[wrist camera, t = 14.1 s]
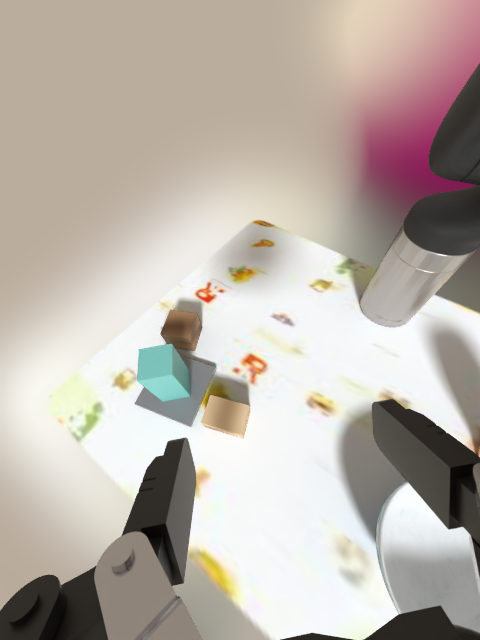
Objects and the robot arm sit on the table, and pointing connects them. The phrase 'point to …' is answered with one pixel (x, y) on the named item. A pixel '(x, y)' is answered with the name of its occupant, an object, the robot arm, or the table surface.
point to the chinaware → (426, 560)
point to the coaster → (182, 407)
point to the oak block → (226, 416)
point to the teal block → (163, 372)
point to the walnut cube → (182, 330)
